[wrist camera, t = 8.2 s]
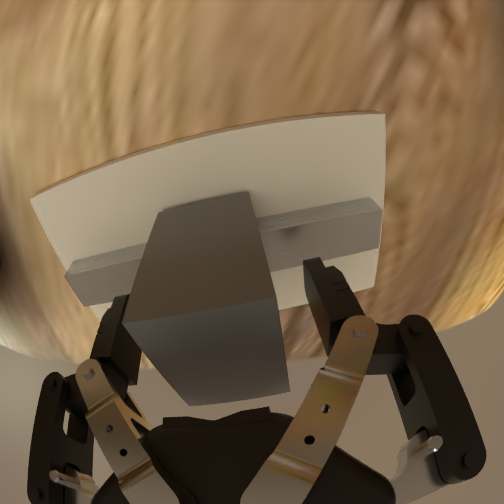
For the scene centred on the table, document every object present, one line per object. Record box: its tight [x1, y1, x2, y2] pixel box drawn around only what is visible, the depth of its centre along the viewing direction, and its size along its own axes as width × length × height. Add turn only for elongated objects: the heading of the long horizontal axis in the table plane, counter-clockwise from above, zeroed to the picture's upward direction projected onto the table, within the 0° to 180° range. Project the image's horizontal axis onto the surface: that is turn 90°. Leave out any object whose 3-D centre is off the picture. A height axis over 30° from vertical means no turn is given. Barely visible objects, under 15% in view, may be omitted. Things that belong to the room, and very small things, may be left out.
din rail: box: [64, 197, 383, 307], centre depth 15 cm, size 18×2×2 cm, turn 100°
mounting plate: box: [29, 111, 386, 322], centre depth 16 cm, size 20×12×1 cm, turn 100°
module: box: [122, 192, 290, 406], centre depth 12 cm, size 4×6×7 cm
